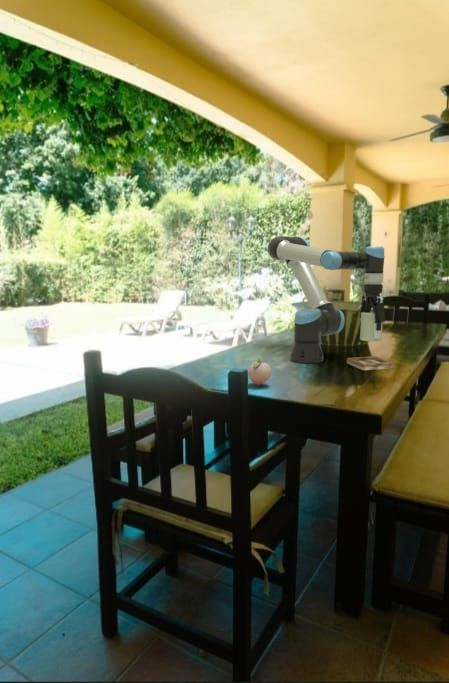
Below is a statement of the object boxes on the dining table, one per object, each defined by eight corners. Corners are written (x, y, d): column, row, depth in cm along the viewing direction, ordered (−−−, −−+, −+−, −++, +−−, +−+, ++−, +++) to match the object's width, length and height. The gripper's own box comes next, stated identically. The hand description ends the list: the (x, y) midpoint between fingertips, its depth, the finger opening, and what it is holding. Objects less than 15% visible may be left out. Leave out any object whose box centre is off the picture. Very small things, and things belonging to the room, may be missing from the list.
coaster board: (362, 370, 189) (363, 364, 189) (346, 363, 203) (346, 357, 202) (392, 368, 192) (393, 362, 192) (374, 361, 206) (375, 356, 205)
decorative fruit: (269, 389, 161) (270, 362, 159) (247, 388, 162) (247, 361, 160) (271, 383, 170) (272, 357, 168) (250, 382, 171) (250, 356, 170)
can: (370, 342, 189) (372, 313, 187) (355, 339, 197) (356, 311, 195) (386, 340, 193) (388, 312, 191) (370, 337, 202) (372, 310, 200)
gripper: (352, 282, 201) (350, 333, 205) (379, 284, 180) (376, 340, 184) (368, 282, 203) (365, 332, 206) (396, 284, 182) (393, 340, 186)
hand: (370, 336), depth 195 cm, fingers closed on can, 9 cm apart
